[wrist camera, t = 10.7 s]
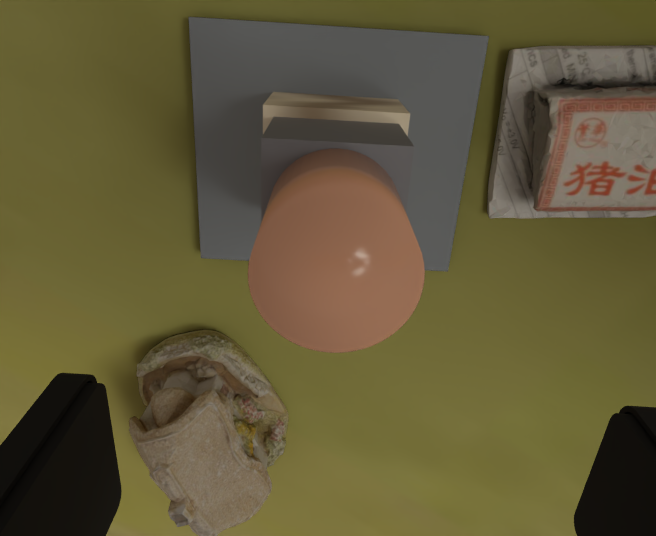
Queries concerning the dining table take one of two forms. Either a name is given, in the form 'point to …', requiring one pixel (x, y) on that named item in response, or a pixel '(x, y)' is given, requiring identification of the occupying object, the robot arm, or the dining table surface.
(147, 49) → the dining table surface
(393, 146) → the charcoal block
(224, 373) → the stuffed bread roll
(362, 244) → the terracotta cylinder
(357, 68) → the slate mat
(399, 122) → the birch block
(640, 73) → the packaged product
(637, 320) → the dining table surface
